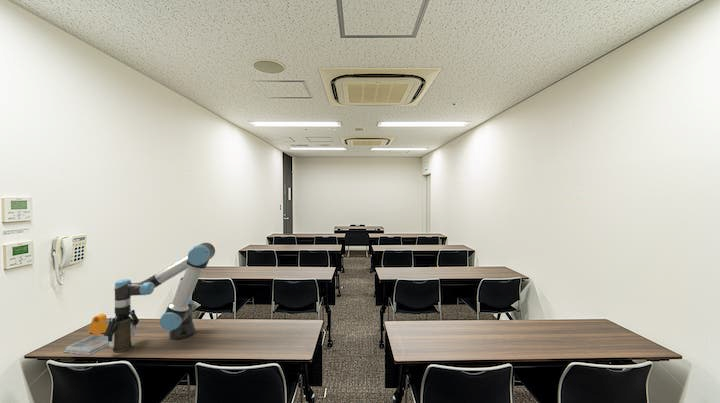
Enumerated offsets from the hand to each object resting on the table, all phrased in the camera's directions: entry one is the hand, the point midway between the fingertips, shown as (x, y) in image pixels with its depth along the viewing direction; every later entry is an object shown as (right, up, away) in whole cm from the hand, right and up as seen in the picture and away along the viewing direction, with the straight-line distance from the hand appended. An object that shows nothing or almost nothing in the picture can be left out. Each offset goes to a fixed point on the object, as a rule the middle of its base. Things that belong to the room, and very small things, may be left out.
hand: (122, 340), depth 176 cm
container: (0, -5, 0) cm, 5 cm away
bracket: (-33, -5, +23) cm, 41 cm away
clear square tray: (-21, -5, +3) cm, 22 cm away
